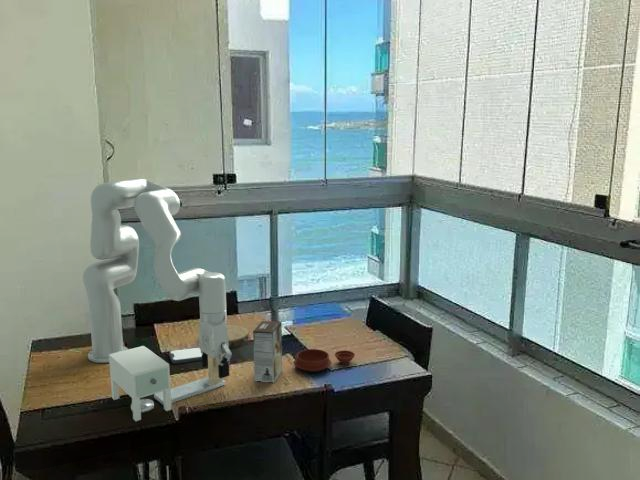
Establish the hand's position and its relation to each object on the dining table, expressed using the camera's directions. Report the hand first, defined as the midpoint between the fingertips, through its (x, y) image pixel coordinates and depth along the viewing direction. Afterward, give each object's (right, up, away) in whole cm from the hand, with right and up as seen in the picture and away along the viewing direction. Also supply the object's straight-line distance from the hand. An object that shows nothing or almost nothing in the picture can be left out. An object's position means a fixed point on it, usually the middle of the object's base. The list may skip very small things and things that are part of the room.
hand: (215, 371), depth 173 cm
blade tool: (-6, -5, -4) cm, 9 cm away
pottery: (+32, -2, +13) cm, 35 cm away
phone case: (-10, 0, +21) cm, 24 cm away
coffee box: (+15, -3, +6) cm, 17 cm away
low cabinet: (-18, -6, -11) cm, 22 cm away
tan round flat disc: (-3, +3, +35) cm, 35 cm away
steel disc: (-17, -7, -13) cm, 23 cm away
